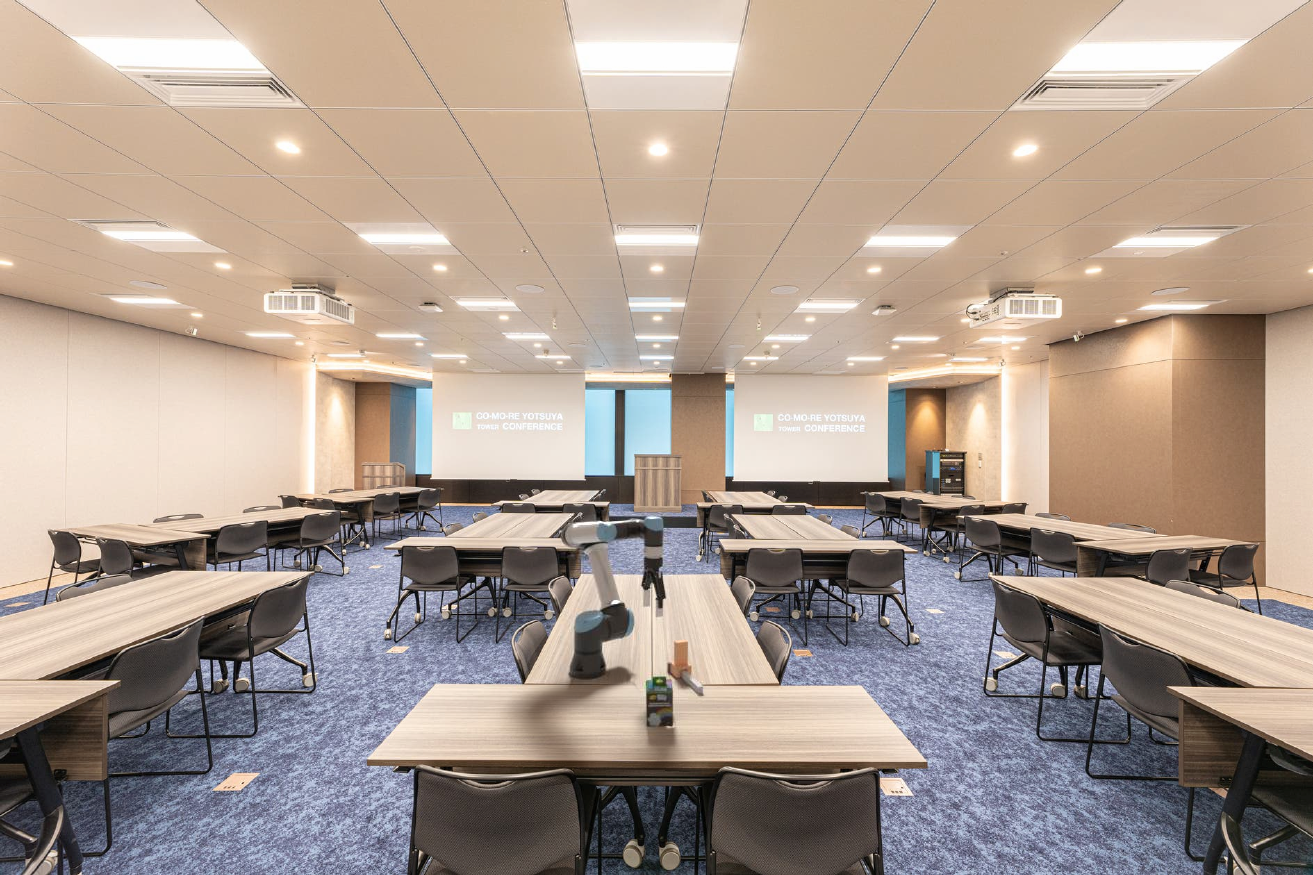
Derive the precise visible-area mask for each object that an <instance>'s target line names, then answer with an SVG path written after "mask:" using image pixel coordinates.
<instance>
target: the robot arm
mask: <svg viewBox="0 0 1313 875" xmlns="http://www.w3.org/2000/svg"><path fill="white" fill-rule="evenodd" d="M664 528H665V527H664V518H662V516H652V515H651V516H646V517H645V518H644V519H639V518H630V519H627V520H626V519H625V520H617V521H616V520H615V521H601V520H592V521H591V520H590V521H589V520H588V521H579V522H577V521H576V522H575V521H574V522H570V523H568V524H567V525H565V526H564V527H563V528H562V530H561V532H560V540H561V542H562V544H564V545H565V546H566V547H568V548H572V549H581V548H582V550H583V552H584V554H585V555H587V556H588V560H589V564H590V567H591V571H592V576H593V579H594V582H595V583H594V584H595V587H596V591H597V594H598V598H599V603H600V608H599V609H598V610H596V609H593V610H591V609H590V610H586V611H583V612H580V613H579V614H578V615H577V616H576V617H575V619H574V625H573V630H574V633H573V634H574V635H573V636H574V637H573V638H574V639H573V641H574V642H573V650H574V651H573V655H572V658H571V660H570V663H569V672H568V673H569V674H570V676H572V677H574V678H577V679H582V680H583V679H584V680H586V679H587V680H589V679H596V678H598V677H601V676H602V675H605V673H606V672H607V663H606V662H607V661H606V659H605V656H604V653H603V644H604V643H606V642H607V643H608V642H611V641H615V640H618V639H620V640H621V639H624V638H625V637H626V638H627V637H628V636H630V635H631V634H632V633H633V631H634V628H635V615H634V612H633V610H632V609H631V608H629V607H626V604H625V602H624V601H622V600H621V599H620V594H619V591H618V588H617V584H616V580H615V577H614V574H613V570H612V565H611V563H610V562H611V561H610V558H609V556H608V551H607V550H608V548H609V543H610V542H614V541H623V540H624V541H625V540H633V539H639V540H643V547H644V548H643V549H642V551H643V555H644V557H643V566H644V567H643V576H642V579H641V583H640V584H641V585H640V586H641V587H642V590H643V592H642V593H643V594H642V595H643V596H642V598H643V599H642V600H643V601H642V602H643V603H642V606H643V608H645V607H647V608H648V607H651V589H652V588H651V585H653V586H654V587H653V588H654V592H655V596H656V597H655V617H656V618H661V617H664V600H666V599H667V595H666V589H665V584H664V573H663V571H660V569H661V568H662V567H663V565H664V557H663V555H664Z"/></svg>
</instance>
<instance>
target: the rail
mask: <svg viewBox="0 0 1313 875" xmlns="http://www.w3.org/2000/svg"><path fill="white" fill-rule="evenodd" d="M671 662H672V661H669V662H667V665H666V666H667V668H666V671H667V672H668V673H671V672H670V663H671ZM681 679H682V680H683V681H685V682H686V684H688V686H690V687H691V689H693V691H695V692H696V693H697V694H698V695H699V694H703V693H704V686H703V685H702V684H701V683H700V682H699V681H698V680H697V679H696V678H695V677H694V676H693V675H692V674H691V675H690V674H689V673H688V672H687V671H686V670H681Z"/></svg>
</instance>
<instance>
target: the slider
mask: <svg viewBox="0 0 1313 875" xmlns="http://www.w3.org/2000/svg"><path fill="white" fill-rule="evenodd" d="M673 644H674V645H673V658H674V659H673V661H670V662H671V663H670V672H669V673H671V674H672V676H674V677H675V678H676V679H682V677H681V670H686V671H687V672H688V673H689V674H690V675H691V676H692V664H690V662H689V661H688V660H689V655H688V654H689V651H688V650H689V642H688V640H687V639H679V640H674V641H673Z"/></svg>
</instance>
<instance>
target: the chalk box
mask: <svg viewBox="0 0 1313 875" xmlns="http://www.w3.org/2000/svg"><path fill="white" fill-rule="evenodd" d="M645 704H646V705H645V710H646V711H645V721H646V722H645V724H646V725H645V726H646V727H673V726H674V689H673V682H672V679H671V678H670V679H669V678H668V679H667V677H666V676H659V675H658V676H653V677H652V679H646V680H645Z"/></svg>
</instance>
